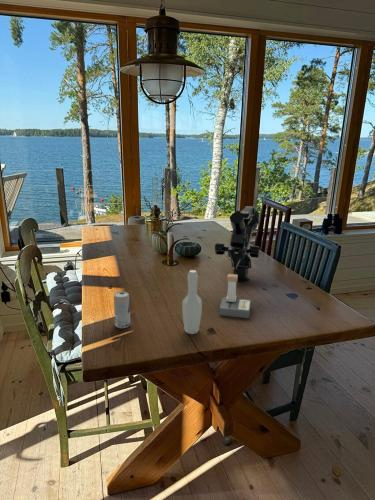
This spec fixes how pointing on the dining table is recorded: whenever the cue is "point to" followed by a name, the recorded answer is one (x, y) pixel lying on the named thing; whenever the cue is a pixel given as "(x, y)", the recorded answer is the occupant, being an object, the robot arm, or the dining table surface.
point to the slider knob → (231, 287)
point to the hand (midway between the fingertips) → (234, 268)
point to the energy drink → (122, 309)
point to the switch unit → (235, 308)
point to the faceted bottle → (192, 305)
